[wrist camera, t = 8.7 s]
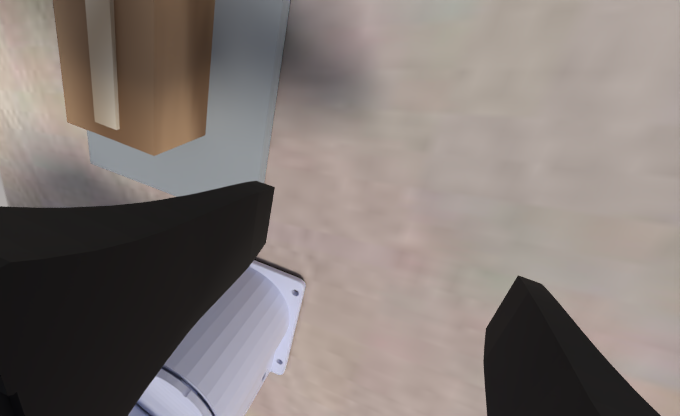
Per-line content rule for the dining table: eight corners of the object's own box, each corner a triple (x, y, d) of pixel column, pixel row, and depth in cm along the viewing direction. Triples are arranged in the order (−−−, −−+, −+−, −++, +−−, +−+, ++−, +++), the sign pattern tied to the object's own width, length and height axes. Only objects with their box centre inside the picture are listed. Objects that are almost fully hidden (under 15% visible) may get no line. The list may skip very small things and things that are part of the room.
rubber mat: (259, 219, 23) (252, 225, 23) (100, 159, 25) (90, 163, 25) (313, -159, 15) (305, -168, 14) (65, -208, 17) (48, -218, 16)
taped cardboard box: (219, -53, 17) (150, -77, 13) (205, 135, 21) (151, 157, 17) (125, -80, 17) (34, -109, 14) (130, 107, 22) (63, 123, 18)
